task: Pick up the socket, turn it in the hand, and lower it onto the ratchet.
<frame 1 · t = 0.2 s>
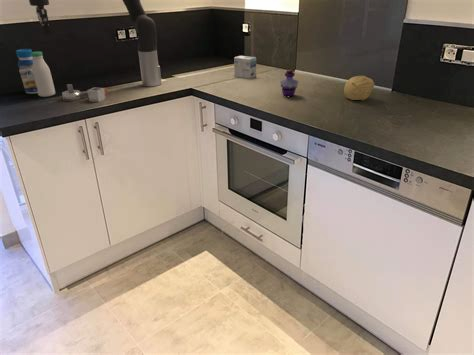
hand: (46, 33, 167), 28 cm above the countertop, tool pointing down, fingers open, 8 cm apart
tan lumpy round lump: (356, 99, 175), on the countertop
beverage bottle: (34, 92, 190), on the countertop
socket: (97, 99, 177), on the countertop
light bulb box: (245, 77, 213), on the countertop
ratchet: (72, 98, 179), on the countertop
potion bottle: (288, 96, 181), on the countertop
milk bottle: (47, 95, 185), on the countertop
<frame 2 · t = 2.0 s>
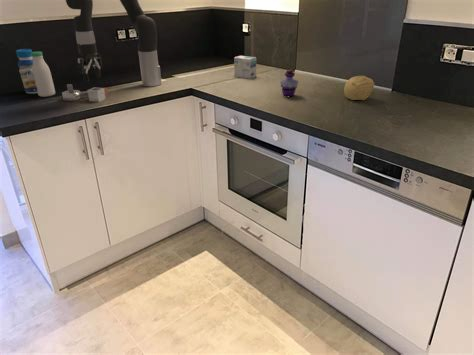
hand: (92, 79, 172), 9 cm above the countertop, tool pointing down, fingers open, 8 cm apart
nothing on the countertop moved.
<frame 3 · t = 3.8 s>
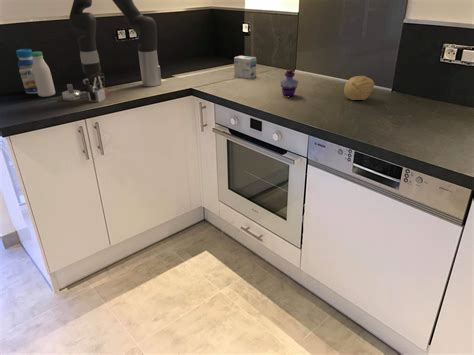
hand: (97, 98, 176), 1 cm above the countertop, tool pointing down, fingers closed on socket, 5 cm apart
socket: (97, 99, 177), on the countertop, touching gripper
everything else where it was.
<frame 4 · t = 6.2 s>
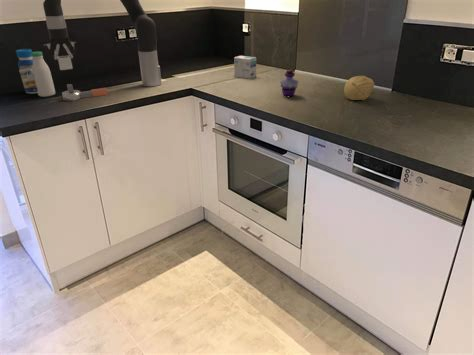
hand: (65, 66, 172), 15 cm above the countertop, tool pointing down, fingers closed on socket, 5 cm apart
socket: (65, 68, 172), point 14 cm above the countertop, touching gripper
everything else where it was.
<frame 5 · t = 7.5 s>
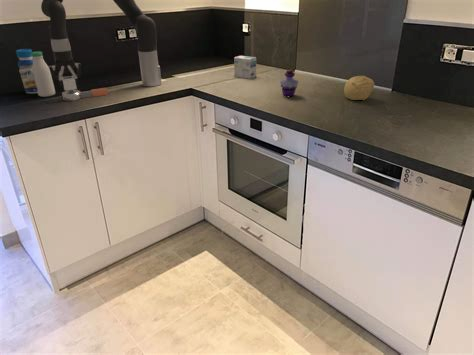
hand: (69, 87, 176), 5 cm above the countertop, tool pointing down, fingers closed on socket, 5 cm apart
socket: (70, 88, 176), point 5 cm above the countertop, touching gripper
everything else where it was.
when the fingers open (4 cm above the countertop, at t = 8.8 s): socket stays where it is, resting on ratchet.
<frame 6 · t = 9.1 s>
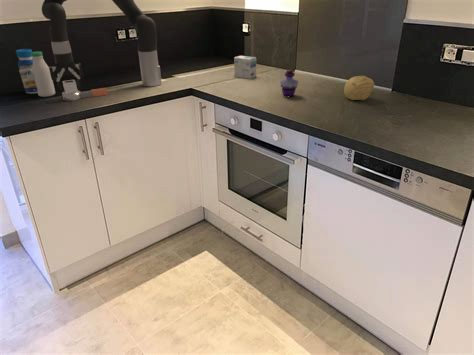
hand: (70, 88, 176), 5 cm above the countertop, tool pointing down, fingers open, 7 cm apart
socket: (71, 92, 177), point 3 cm above the countertop, touching ratchet
everything else where it was.
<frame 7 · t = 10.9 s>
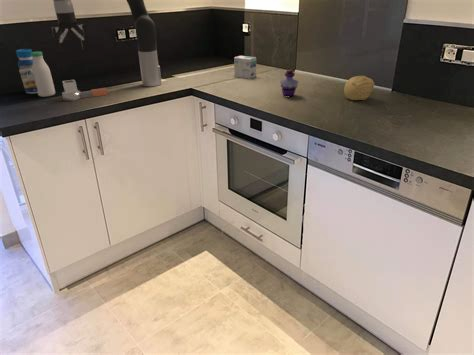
hand: (74, 50, 173), 21 cm above the countertop, tool pointing down, fingers open, 8 cm apart
nothing on the countertop moved.
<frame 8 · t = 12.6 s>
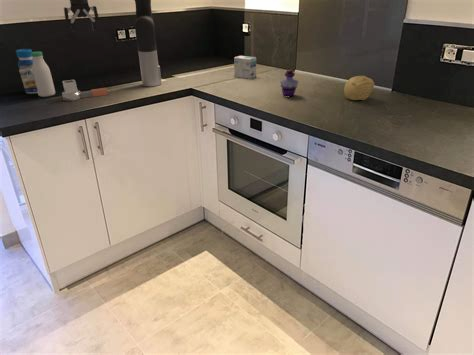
hand: (84, 31, 176), 28 cm above the countertop, tool pointing down, fingers open, 8 cm apart
nothing on the countertop moved.
at the end: socket 0.1 cm off-centre on the ratchet, point 3.0 cm above the ratchet's base; socket tilted 0°; the gripper is holding nothing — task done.
